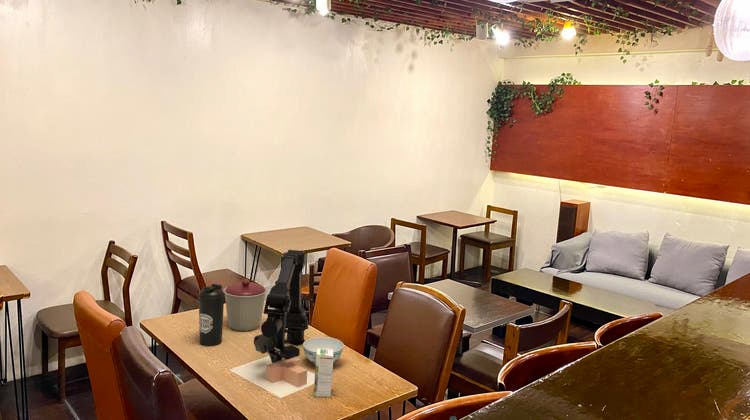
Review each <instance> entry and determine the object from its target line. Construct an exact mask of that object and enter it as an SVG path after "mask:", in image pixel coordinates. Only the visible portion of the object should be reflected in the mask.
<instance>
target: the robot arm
mask: <svg viewBox="0 0 750 420" xmlns="http://www.w3.org/2000/svg"><path fill="white" fill-rule="evenodd" d="M307 262H308V254H307V252H305V251H304V250H297V249H288V250H287V252H286V251H284V252H282V264H281V268H280V271H279V273H278V277H277V279H276V283H275V285H274V286H273V287H271V288H270V291H269V293H268V294H267V295H266V298H265V299H266V300H265V302H264V307H263V312H262V315H267V316H266V319H265V320H264V321H263V323H262V324H261V326H260V332H261V333H260V334H258V335H255V336H254V338H253V345H254V348H255V350H256V351H257V352H259V353H261V354H263V355H264V354H266V353H267V355H268V356H270V358H271V362H272V363H274V362H277V361H280V360H282V359H286V360H289V359H291V358H294V357H296V358H298V357H300V354H301V352H300V348H299V347H297V346H299V345H303V343H304V342H305V341H306V340H305V331H306V330H308V329H309V321H308V318H307V315H306V310H305V308H304V306H303V305H302V272H303V269H304V268H305V266H306V264H307ZM286 344H290V345H286Z"/></svg>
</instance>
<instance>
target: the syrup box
mask: <svg viewBox="0 0 750 420" xmlns="http://www.w3.org/2000/svg"><path fill="white" fill-rule="evenodd" d="M333 357H334V350H332V349H317V355H316V365H315V366H314V367H315V369H314V374H315V380H314V384H313V385H314V386H313V397H317V398H318V397H319V398H323V397H324V398H325V397H326V398H330V397H332V386H333V372H334V363H333Z"/></svg>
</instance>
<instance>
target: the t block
mask: <svg viewBox="0 0 750 420" xmlns="http://www.w3.org/2000/svg"><path fill="white" fill-rule="evenodd" d="M307 371H308V369H307V368H304V367H302V366H301V358H298V357H294V358H291V359H289V360H286V359H284V358H283V360H280V361H277V362H274V363H272V364H269V365H266V379H267V380H268V381H270V382H272V383H275V382H277V381H280V380H284V381H286V382H288V383H290V384H292V385H294V386H296V387H300V386H303V385H305V384H307Z"/></svg>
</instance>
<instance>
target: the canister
mask: <svg viewBox="0 0 750 420" xmlns="http://www.w3.org/2000/svg"><path fill="white" fill-rule="evenodd" d="M222 290H223V292H224V293H225V300H224V301H225V309H226V317H227V318H226V319H227V323H228V326H229V327H230V328H231V329H232V330H234V331H240V332H242V331H243V332H246V331H247V332H248V331H253V330H255V329H257V328H258V327H259V326H260V325H261V322H262V317H263V312H264V307H265V299H266V298H265V297H266V293H267V292H268V289H267V287H266V286H263V285H262V284H259V283H256V282H250V279H248V278H243V279H242V280H241V281H240V282H236V283H235V282H234V283H232V284H229V285H227V286H225V287H224V288H223V289H222Z"/></svg>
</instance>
